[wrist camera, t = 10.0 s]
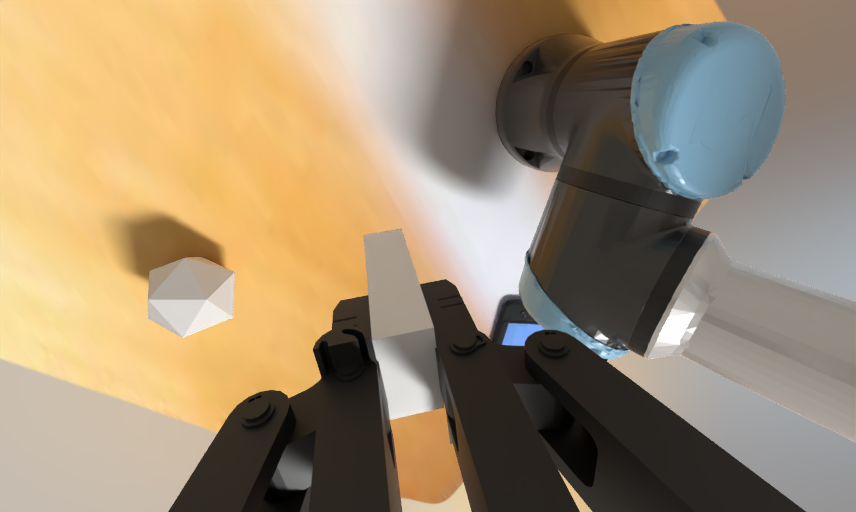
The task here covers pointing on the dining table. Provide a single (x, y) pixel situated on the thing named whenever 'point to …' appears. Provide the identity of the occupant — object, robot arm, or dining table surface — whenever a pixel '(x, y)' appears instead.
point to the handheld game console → (515, 325)
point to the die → (190, 295)
